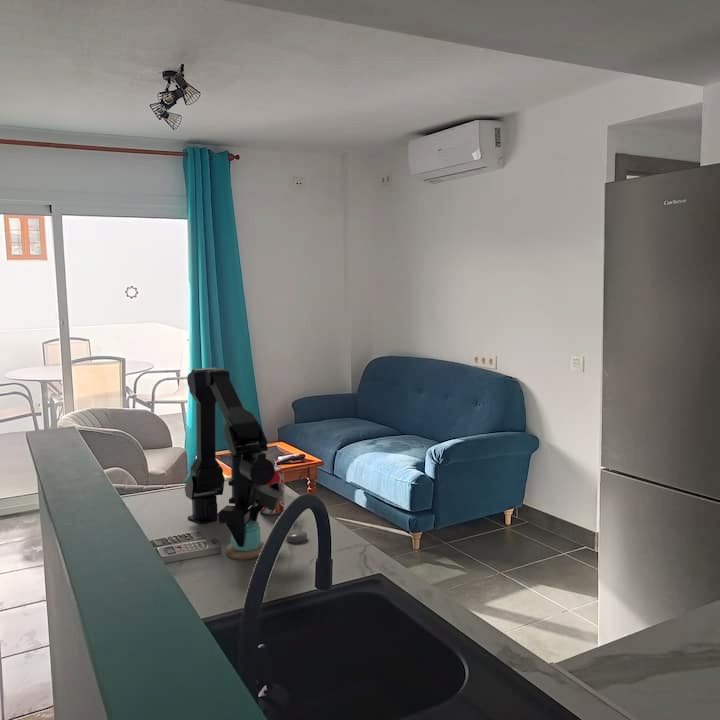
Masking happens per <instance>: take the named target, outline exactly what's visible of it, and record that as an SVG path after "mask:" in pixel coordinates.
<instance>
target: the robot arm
mask: <svg viewBox="0 0 720 720" xmlns="http://www.w3.org/2000/svg"><path fill="white" fill-rule="evenodd" d="M186 378H187V379H186V380H187V387H188V388H189V393H190V395H191V397H192V398H193V400H194V401H195V406H196V407H195V408H196V420H195V421H196V458H195V460H194V461H193V463H192V465H191V466H190V471H189V477H188V479H187V481H186V483H185V486H184V492H185V497H187V498H188V499H190V501H191V507H192V515H188V516H187V519H188V520H189V521H192V522H193V521H194V522H196V523H199V524H202V525H203V524H206V523H209V522H210V523H211V522H213V521H215V520H217V521H216V522H217V523H218V524H225V525H226V527H227V528H228V530H229V532H230V534H232V535H233V537H234V539H235V541H236V543H237V545H238V546H239V547H243V546H244V540H245V532H246V525H247V523H248V522H249V521H250V520H253V521H257V522H258V517H259V514H260V511H261V510H262V509H263V508H264V507H266V508H268V509H269V510H275V509H276V508H277V507H278V506H279V504H280V501H281V498H282V497H283V491H282V488H281V483H278V482H274V483H273V484H272V485H271V486H269V485H265V484H268V483H269V482H270V481H271V480H272V478H273V477H274V474H275V468H274V463H273V462H272V461H271V460H269V458H267V454H266V452H267V451H268V450H269V449H268V446H267V445H268V440H267V438H266V435H265V433H264V430H263V428H262V425H261V423H260V422H259V420H258V419H257V418H256V417H255V414H254V413H252V412H250V411H249V410H247V409H245V407H244V406H243V403H242V401H241V399H240V397H239V396H238V394H237V391H236V389H235V388H234V385H233V382H232V381H231V377H230V371H229V370H228V369H225V368H218V367H204V368H203V367H202V368H193V369H191V371H190V372H189V373H188V374H187V377H186ZM216 403H217V404H218V407H219V409H220V411H221V413H222V415H223V418H224V420H225V424H224V428H223V432H224V438H225V441H226V443H227V445H228V452H230V469H231V470H230V471H231V473H230V474H231V479H230V480H228V486H229V487H230V486H231V497H229V499H228V504H231V505H225V506H224V507H223V508H222V509H221V510H219V511H218V502H217V498H218V497H217V496H223V494H224V487H225V476H224V470H223V467H222V466H221V465H220V463H219V462H218V460H217V458H216V457H217V455H216V454H217V453H216V449H217V447H216V442H217V441H216V440H217V439H216V436H217V435H216V434H217V433H216ZM232 504H234V505H232Z"/></svg>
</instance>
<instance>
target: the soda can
mask: <svg viewBox="0 0 720 720" xmlns="http://www.w3.org/2000/svg"><path fill="white" fill-rule="evenodd" d="M273 465H274V464H273ZM274 468H275V474H274V477H273V478H272V480H271V481H270V482H269V483H268V484H265V485H269V486H271V485H272V484H273V483H274V482H278V483H281V488H282V491H283V497H282V498H281V501H280V504H279V506H278V507H277V508H276V509H275V510H269V509H268V508H266V507H264V508H263V509H262V510H261V511H260V512H261V513H262V514H263V513H264V514H263V515H267V514H268V515H269V516H270V515H271V516H272V515H278V514H280V513H281V512H283V510H284V509H285V474H284V472H283V470H282V467H281V466H280V465H277V464H275V465H274ZM260 512H259V513H260Z"/></svg>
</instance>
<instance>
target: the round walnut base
mask: <svg viewBox="0 0 720 720" xmlns="http://www.w3.org/2000/svg"><path fill="white" fill-rule="evenodd" d="M264 543H265V542H263V541H261V545H260V546H259V547H258V548H257V549H253V550H249V551H239V550H235V549H234V548H232V542H231V543H230V542H229V543H228V544H227V545H226V547H225V554H226V557H228V558H230V559H233V560H240V561H241V560H242V561H243V560H244V561H245V560H252V559H257V558H259V557H258V556H259V553H260V552H261V549H262V547H263V545H264Z"/></svg>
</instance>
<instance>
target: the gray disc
mask: <svg viewBox="0 0 720 720" xmlns="http://www.w3.org/2000/svg"><path fill="white" fill-rule="evenodd" d="M289 532H290V533H289V535H288V536H287V539H286V538H285V541H286V542H287V543H290V544H301V543H305V542H306V541H307V539H308V533H307V532H306V531H303V530H302V531H301V530H292V531H289Z"/></svg>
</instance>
